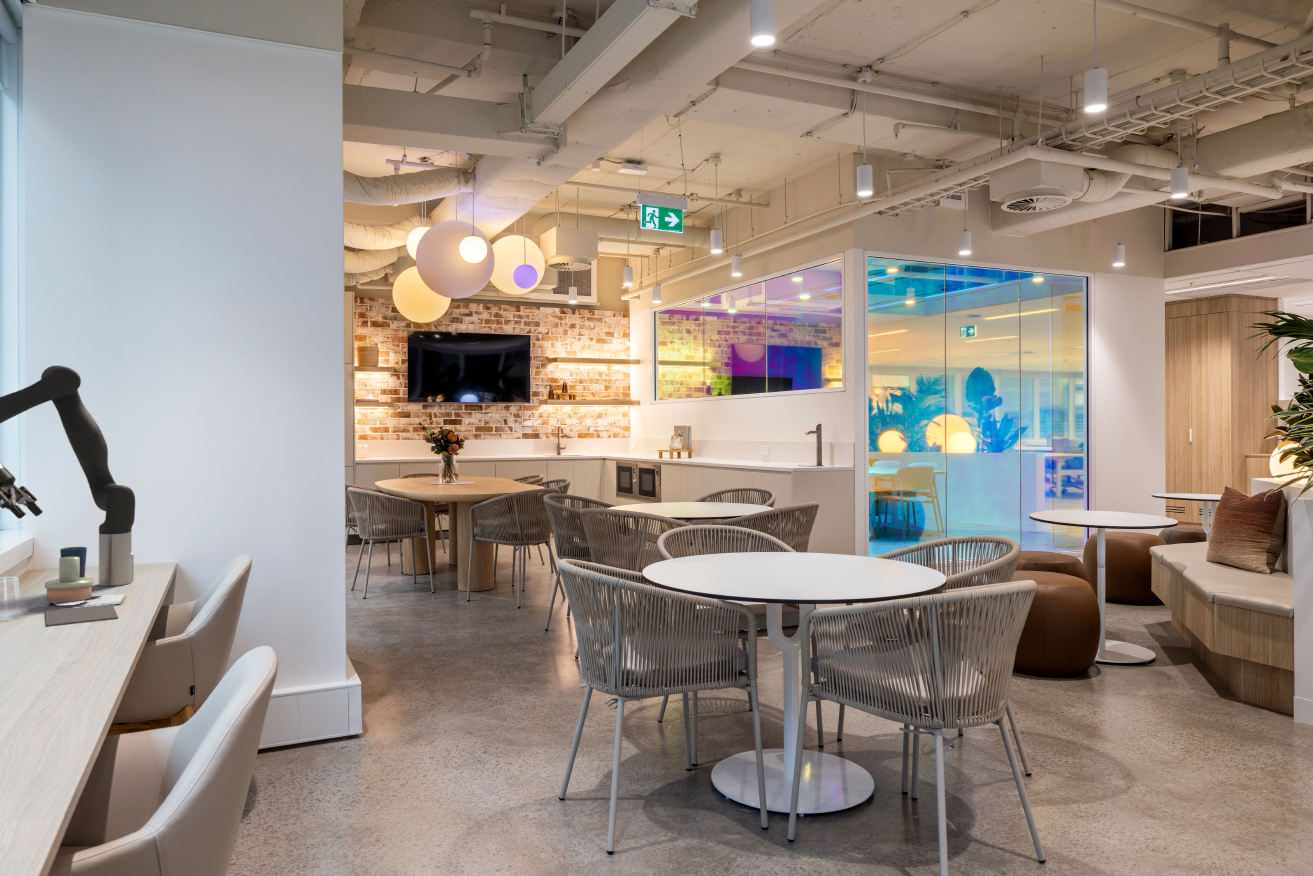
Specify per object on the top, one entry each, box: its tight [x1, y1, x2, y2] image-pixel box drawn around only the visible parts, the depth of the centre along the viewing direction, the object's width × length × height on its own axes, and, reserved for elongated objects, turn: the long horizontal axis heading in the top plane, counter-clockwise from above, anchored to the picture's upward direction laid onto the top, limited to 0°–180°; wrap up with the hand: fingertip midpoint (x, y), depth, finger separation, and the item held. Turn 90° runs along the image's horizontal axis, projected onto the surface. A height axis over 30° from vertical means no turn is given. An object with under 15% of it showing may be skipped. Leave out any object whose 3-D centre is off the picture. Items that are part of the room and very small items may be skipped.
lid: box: [44, 557, 95, 590], centre depth 249 cm, size 12×12×8 cm
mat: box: [45, 603, 119, 627], centre depth 235 cm, size 22×16×1 cm
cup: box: [59, 546, 88, 578], centre depth 259 cm, size 7×7×15 cm
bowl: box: [46, 584, 93, 603], centre depth 249 cm, size 11×11×6 cm
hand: (31, 515), depth 248 cm, fingers open, 8 cm apart
